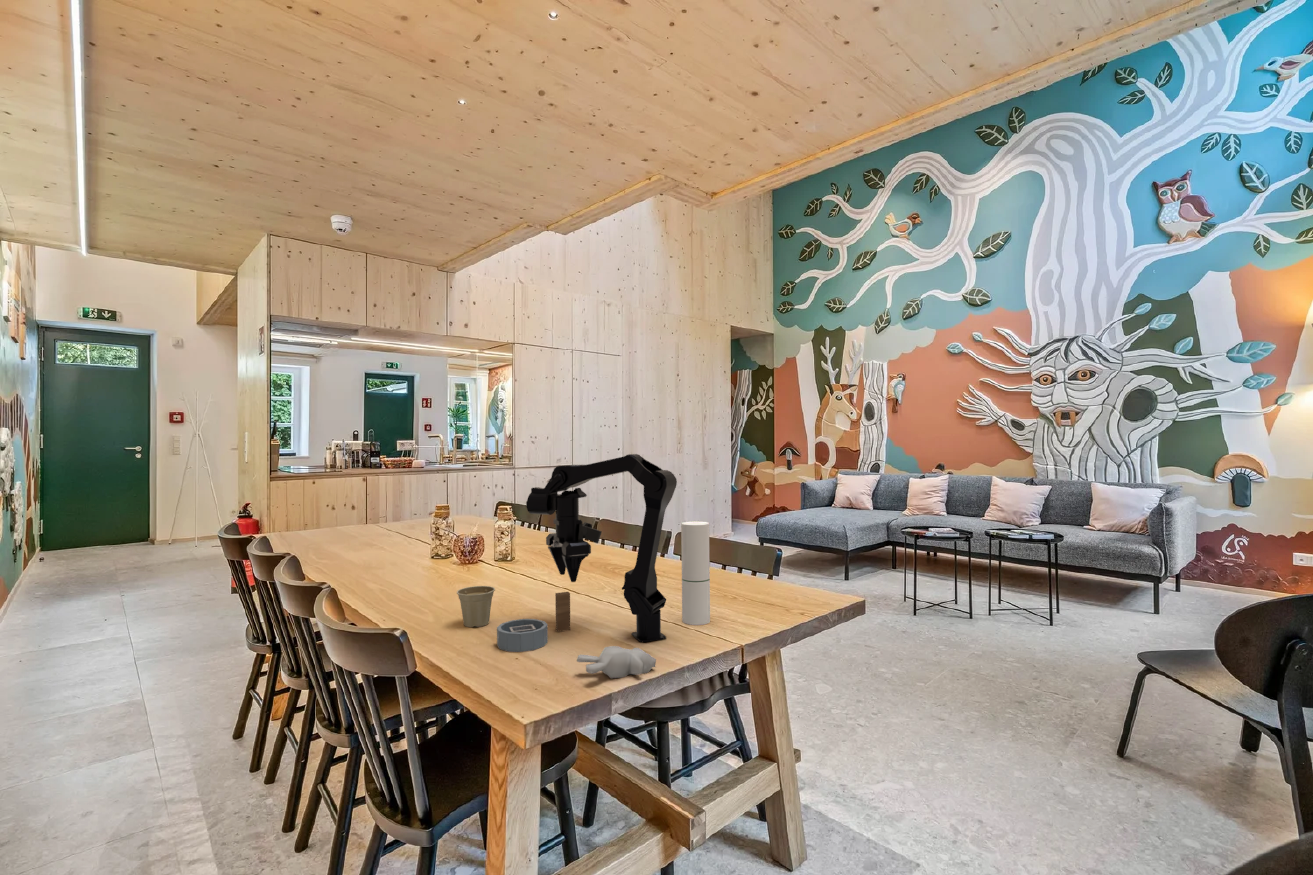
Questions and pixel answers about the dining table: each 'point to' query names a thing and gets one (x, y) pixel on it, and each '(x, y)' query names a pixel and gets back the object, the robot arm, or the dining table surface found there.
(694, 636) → the dining table surface
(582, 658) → the bunny figurine
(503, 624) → the blue-grey round dish
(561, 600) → the brown rectangular block
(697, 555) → the cylindrical container
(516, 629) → the clip
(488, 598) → the flower pot
